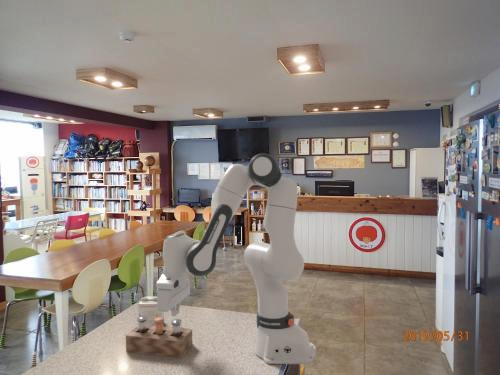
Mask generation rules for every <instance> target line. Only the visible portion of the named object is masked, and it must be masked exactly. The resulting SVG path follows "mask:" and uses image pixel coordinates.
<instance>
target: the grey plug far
mask: <svg viewBox="0 0 500 375" xmlns="http://www.w3.org/2000/svg"><path fill="white" fill-rule="evenodd" d="M136 320H137V322H138V325H139V333H146V320H147V316H140V317H139V316H137V317H136Z"/></svg>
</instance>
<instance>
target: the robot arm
mask: <svg viewBox="0 0 500 375" xmlns="http://www.w3.org/2000/svg"><path fill="white" fill-rule="evenodd" d="M251 187H254V188H255V187H256V188H260V189H261V188H262V189H266V190H267V200H266V207H265V211H264V218H263V222H262V223H263V229H264V230H265V232H267V234H268V236H269V243H266V242H253V243H250V244H249V245H248V246H247V247H246V248H245V250H244V251H243V252H244V253H243V262H244V263H245V266H246V267H247V268H248V269H249V271H250V273H251V275H252V278H253V281H254V284H255V288H256V292H257V312H256V327H257V330H256V331H257V332H256V333H257V334H256V340H255V344H254V348H253V353H254V354H255V355H256V356H257V357H259V358H261V359H262V360H263V361H264V362H265V363H266V364H269V365H270V364H271V365H310V364H312V363H313V362H314V361H315V359H316V357H317V347H316V346H315V344H313V342H310V337H309V335H308V334H309V333H308V332H307V331H305V329H303V328H301V327H300V326H299V325H298V324H296V323H295V315H294V312H292V313H291V312H289V292H288V290H287V287H285V285H284V284H283V282H282V280H285V281H286V280H287V281H292V280H293V281H294V280H297V279H299V277H300V276H301V275H302V273H303V272H304V268H305V260H304V257H303V256H302V254H301V253H300V251H299V249H298V248H297V244H296V240H295V234H294V232H295V231H294V230H295V222H296V221H295V220H296V214H297V213H296V212H297V208H298V207H297V206H298V185H297V183H296V182H295V180H293V179H291V178H289V177H284V176H283V175H282V172H281V169H280V166H279V163H278V161H277V159H276V158H275V157H273V156H272V155H270V154H268V153H264V152H263V153H258V154H256V155H254V156H253V157H252V158H251V159H250V161H249V163H248V165H243V164H241V163H233V164H230V166H228V168H227V169H226V171H225V172H224V173H223V175H222V176H221V178H220V180H219V182H218V183H217V186H216V187H215V190H214V191H213V194H212V199H211V202H210V207H211V216H210V219H209V222H208V225H207V227H206V229H205V232H204V234H203V236H202V237H201V240H199V239H195V238H192V237H191V236H188V235H187V234H186V233H184V232H176V233H172V234H169V235H167V236H166V237H164V241H163V245H162V262H163V267H162V274H161V275H160V277H159V279H158V280H157V281H156V285H155V287H156V289H157V292H156V297H157V307H158V310H159V311H163V312H164V313H167V312H169V311H170V314H171V316H172V317H176V316H177V315H178V314H179V313H180V308H181V303H182V301H183V300H184V299H185V298H186V297H188V296H189V295H190V294H191V293H190V292H191V282H190V281H191V279H190V277H189V275H188V272H190V274H192V275H194V276H197V277H205V276H207V275H209V274H210V273H212V272H213V270H214V269H215V268H216V263H217V251H218V248H219V246H220V244H221V241H222V240H223V237H224V234H225V232H226V230H227V228H228V226H229V224H230V222H231V221H232V219H233V217H234V216H235V214H236V212H237V211H238V210H239V208H240V206H241V204H242V202H243V200H244V198H245V196H246V194H247V192H248V191H249V189H250V188H251Z"/></svg>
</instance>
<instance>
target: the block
mask: <svg viewBox="0 0 500 375" xmlns="http://www.w3.org/2000/svg"><path fill="white" fill-rule="evenodd" d="M180 331H181V336H180V337H175V336H173V326H164V325H163V334H162V335H156V330H155V325H146V333H139V324H138V325H137V326H136V327H134V328H133V329H132V330H130V331H129V332H128V333H127V334H126V335H125V352H129V353H130V352H131V353H137V354H147V355H153V356H154V355H155V356H163V357H171V358H180V359H182V358H183V357H184V355H186V353H187V352H188V351H189V349H190V348H191V347H192V345H193V328H184V327H180Z"/></svg>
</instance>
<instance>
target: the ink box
mask: <svg viewBox="0 0 500 375" xmlns="http://www.w3.org/2000/svg"><path fill="white" fill-rule="evenodd" d="M137 305H138V306H137V308H138V311H137V312H138V317H140V316H147V320H146V325H155V323H154V319H155V318H159V317H162V318H164V319H165V312H163V311H159V310H158V307H157V296H144V297H140V301H139V303H137ZM164 323H165V321H164V322H163V325H164Z"/></svg>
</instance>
